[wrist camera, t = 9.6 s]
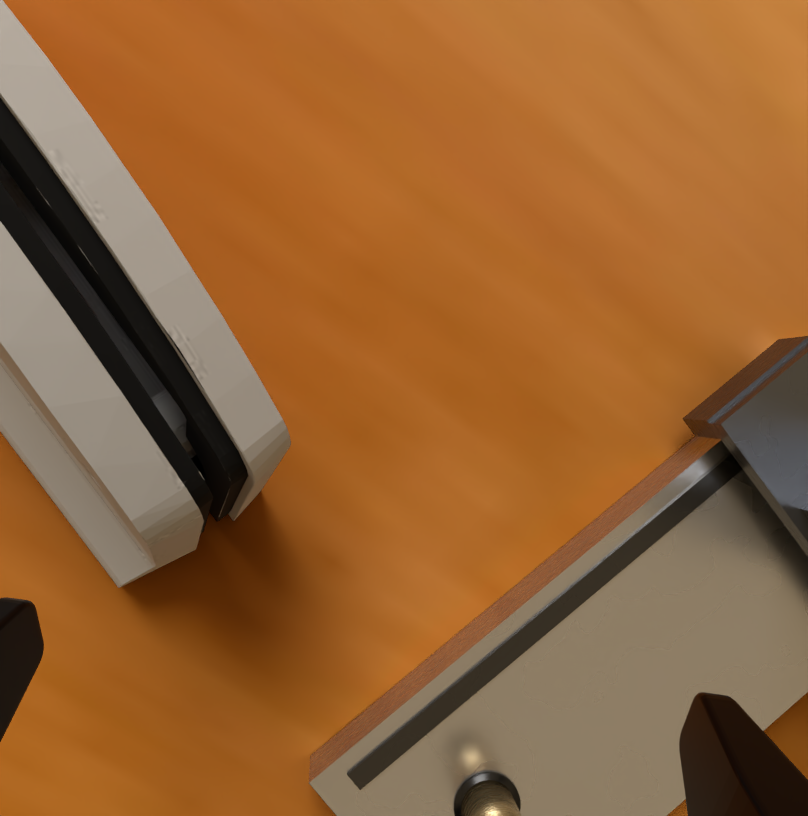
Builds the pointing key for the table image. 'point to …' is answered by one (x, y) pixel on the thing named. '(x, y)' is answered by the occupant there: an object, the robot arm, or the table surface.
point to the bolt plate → (594, 663)
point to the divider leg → (767, 428)
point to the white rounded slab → (113, 340)
